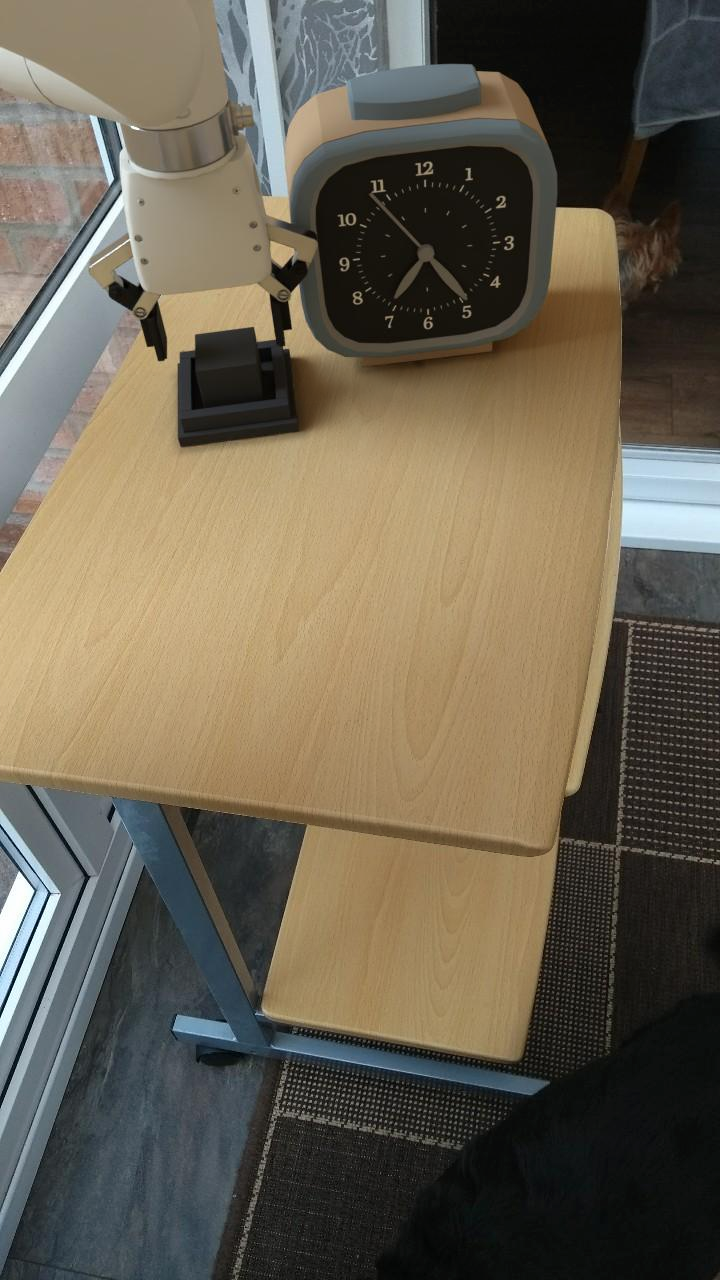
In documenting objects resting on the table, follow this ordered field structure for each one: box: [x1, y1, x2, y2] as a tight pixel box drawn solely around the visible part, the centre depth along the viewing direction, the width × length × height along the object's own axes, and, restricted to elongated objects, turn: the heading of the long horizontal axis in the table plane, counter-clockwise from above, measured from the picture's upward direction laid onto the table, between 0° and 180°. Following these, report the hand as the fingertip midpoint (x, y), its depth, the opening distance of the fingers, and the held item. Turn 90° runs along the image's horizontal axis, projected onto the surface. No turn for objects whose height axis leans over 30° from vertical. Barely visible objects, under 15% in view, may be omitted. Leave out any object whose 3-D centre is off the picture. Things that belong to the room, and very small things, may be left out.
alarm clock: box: [284, 63, 558, 367], centre depth 83 cm, size 21×10×22 cm, turn 95°
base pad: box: [176, 339, 300, 448], centre depth 87 cm, size 10×10×2 cm
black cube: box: [194, 326, 265, 408], centre depth 85 cm, size 5×5×4 cm
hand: (221, 343), depth 83 cm, fingers open, 9 cm apart
